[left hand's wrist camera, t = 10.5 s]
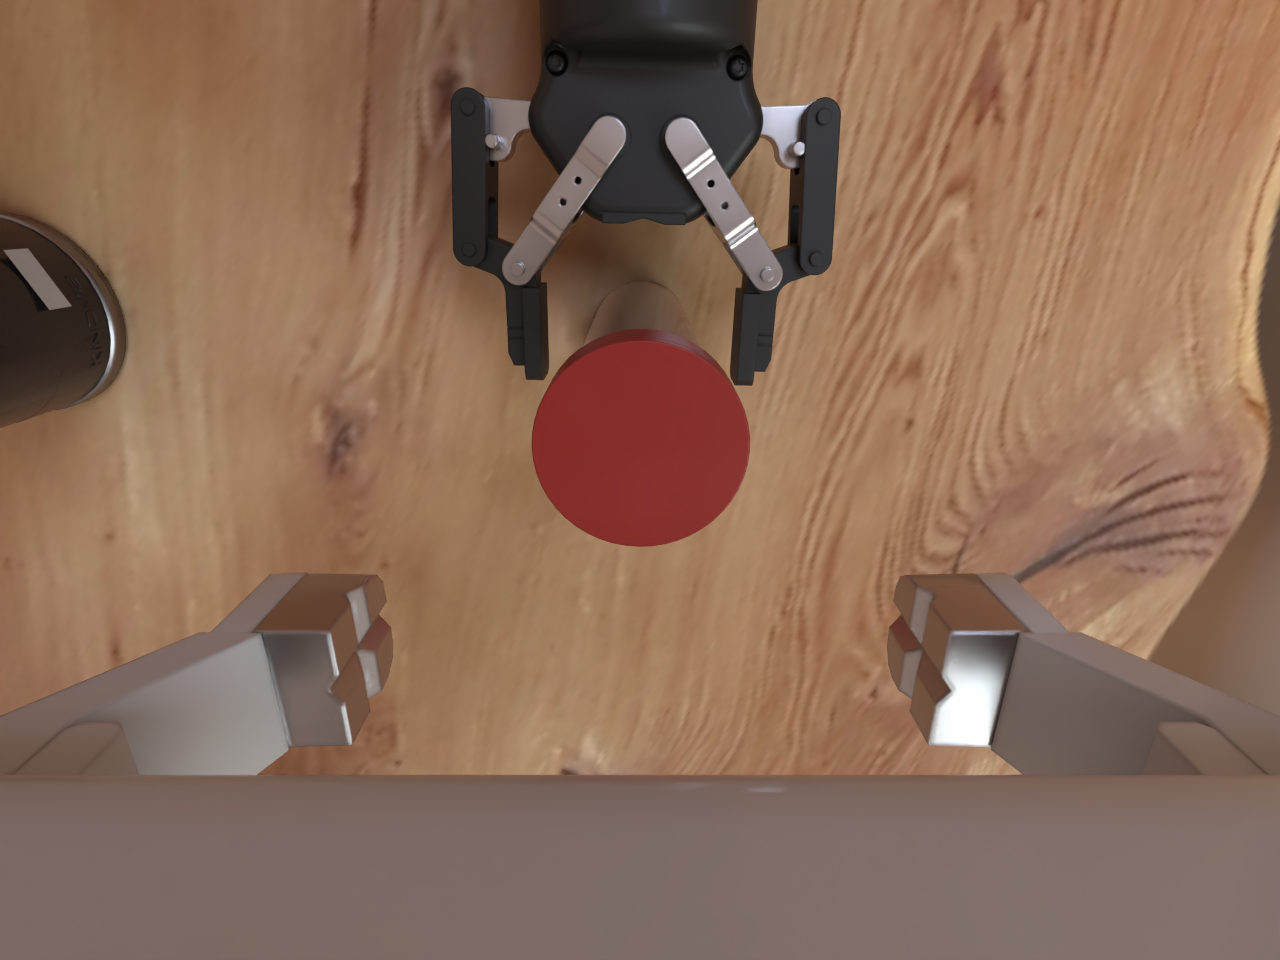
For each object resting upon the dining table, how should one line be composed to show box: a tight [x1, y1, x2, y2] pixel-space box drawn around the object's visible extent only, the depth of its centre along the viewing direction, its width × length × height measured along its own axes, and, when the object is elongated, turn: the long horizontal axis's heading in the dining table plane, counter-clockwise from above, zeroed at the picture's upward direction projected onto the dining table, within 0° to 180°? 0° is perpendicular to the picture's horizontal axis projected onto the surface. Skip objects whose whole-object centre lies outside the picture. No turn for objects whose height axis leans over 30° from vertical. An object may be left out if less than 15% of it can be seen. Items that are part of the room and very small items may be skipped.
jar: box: [582, 281, 700, 347], centre depth 26 cm, size 5×5×18 cm
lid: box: [532, 329, 750, 547], centre depth 18 cm, size 6×6×2 cm
